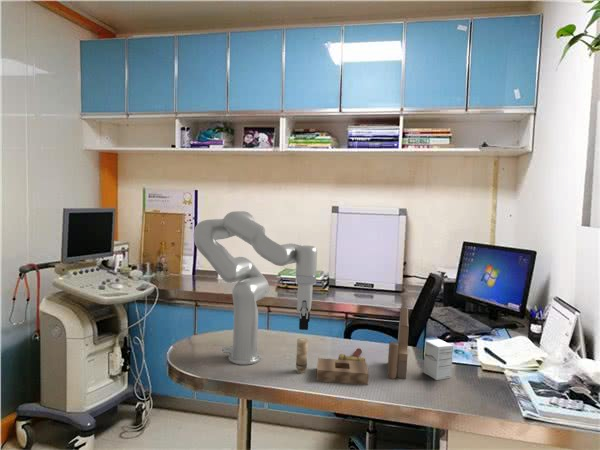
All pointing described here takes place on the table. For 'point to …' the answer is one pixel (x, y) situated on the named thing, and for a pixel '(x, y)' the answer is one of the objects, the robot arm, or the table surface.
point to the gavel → (352, 358)
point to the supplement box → (438, 359)
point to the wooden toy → (399, 349)
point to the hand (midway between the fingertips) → (304, 325)
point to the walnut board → (342, 371)
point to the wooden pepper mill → (301, 355)
